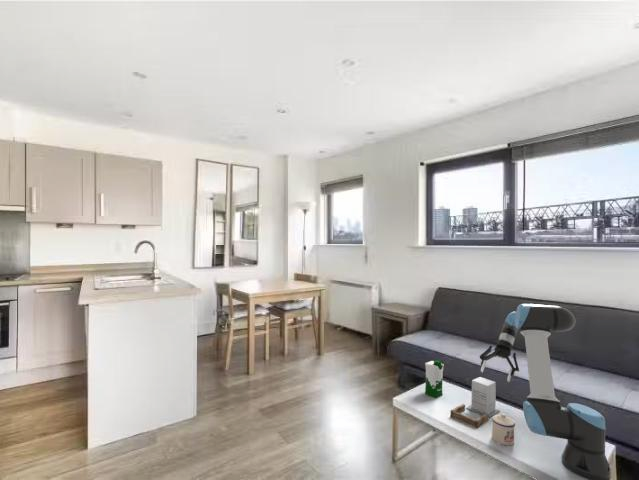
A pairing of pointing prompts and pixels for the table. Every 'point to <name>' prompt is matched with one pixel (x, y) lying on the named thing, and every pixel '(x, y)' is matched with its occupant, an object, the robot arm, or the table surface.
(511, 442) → the teacup with lid
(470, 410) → the slate mat
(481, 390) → the supplement box
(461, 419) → the walnut cradle
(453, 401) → the table surface
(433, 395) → the milk carton
